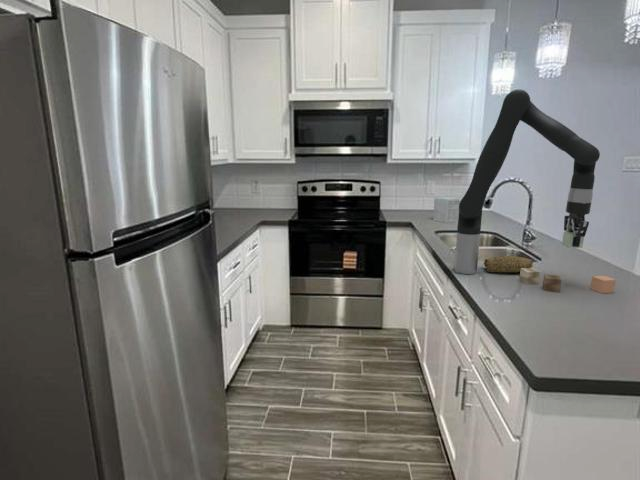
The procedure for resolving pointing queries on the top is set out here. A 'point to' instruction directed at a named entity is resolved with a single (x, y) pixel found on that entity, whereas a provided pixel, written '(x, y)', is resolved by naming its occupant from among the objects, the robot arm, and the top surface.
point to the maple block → (529, 276)
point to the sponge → (507, 264)
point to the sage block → (571, 239)
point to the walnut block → (551, 283)
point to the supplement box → (446, 209)
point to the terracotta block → (602, 284)
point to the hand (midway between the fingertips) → (572, 244)
